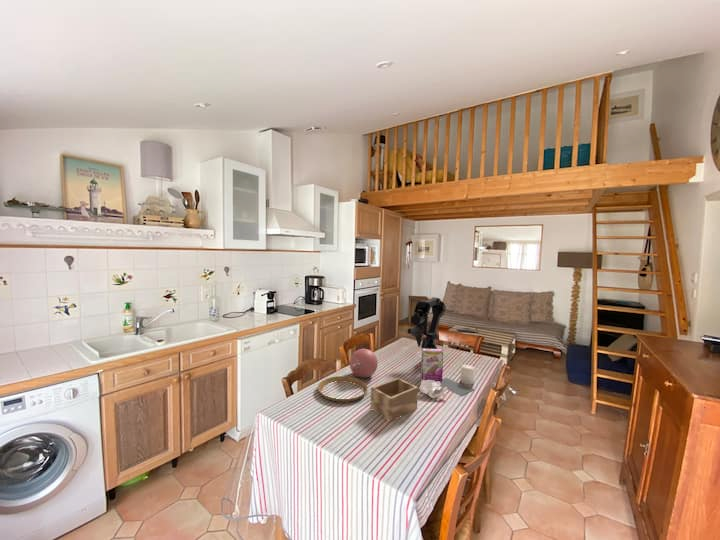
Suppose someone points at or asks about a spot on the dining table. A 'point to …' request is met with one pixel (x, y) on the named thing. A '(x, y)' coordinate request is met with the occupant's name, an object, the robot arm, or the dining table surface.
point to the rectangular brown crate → (394, 398)
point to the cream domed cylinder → (467, 374)
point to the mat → (455, 387)
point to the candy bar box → (432, 364)
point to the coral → (432, 389)
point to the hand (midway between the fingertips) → (421, 347)
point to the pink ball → (363, 363)
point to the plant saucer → (342, 378)
